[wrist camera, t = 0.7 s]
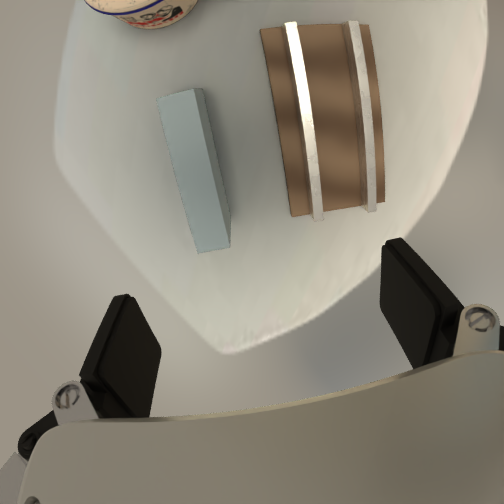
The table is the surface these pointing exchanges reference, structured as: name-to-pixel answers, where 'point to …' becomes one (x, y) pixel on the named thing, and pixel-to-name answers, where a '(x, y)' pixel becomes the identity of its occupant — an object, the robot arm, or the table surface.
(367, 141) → the bottom track
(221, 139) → the table surface
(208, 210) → the door panel
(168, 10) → the teacup with lid
